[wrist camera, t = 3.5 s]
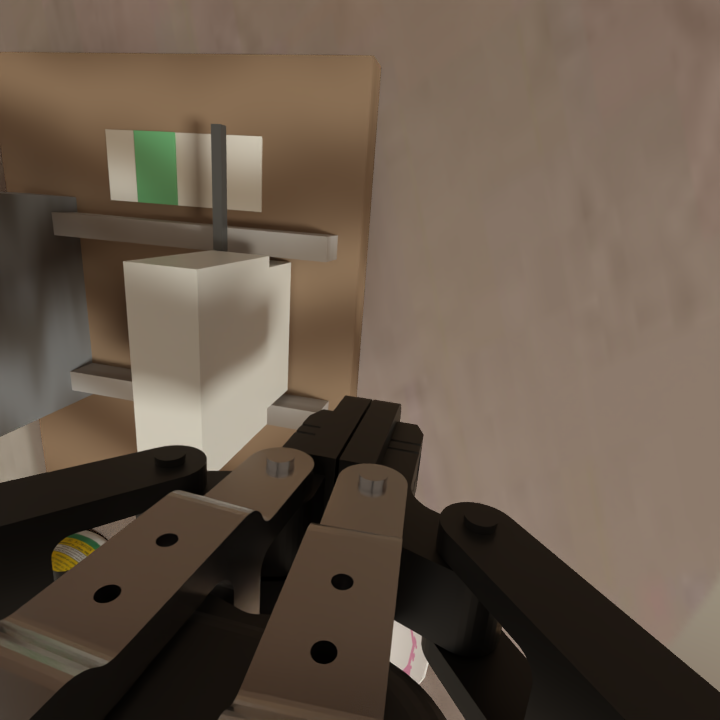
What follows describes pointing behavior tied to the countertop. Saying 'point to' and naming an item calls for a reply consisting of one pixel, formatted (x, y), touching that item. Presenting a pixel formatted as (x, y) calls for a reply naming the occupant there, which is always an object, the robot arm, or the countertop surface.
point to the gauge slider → (207, 338)
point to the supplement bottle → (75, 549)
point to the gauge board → (174, 221)
